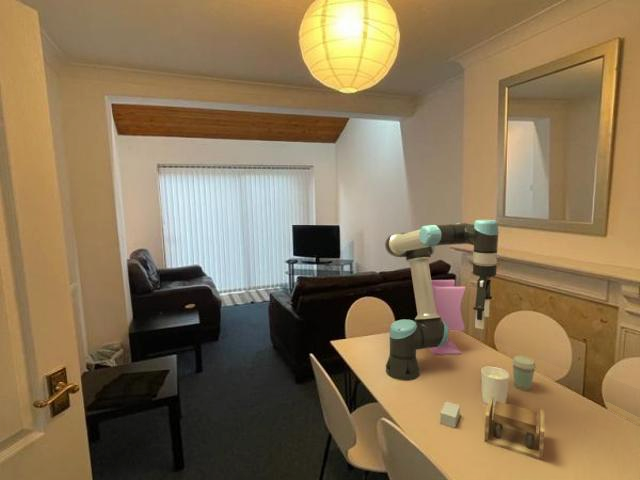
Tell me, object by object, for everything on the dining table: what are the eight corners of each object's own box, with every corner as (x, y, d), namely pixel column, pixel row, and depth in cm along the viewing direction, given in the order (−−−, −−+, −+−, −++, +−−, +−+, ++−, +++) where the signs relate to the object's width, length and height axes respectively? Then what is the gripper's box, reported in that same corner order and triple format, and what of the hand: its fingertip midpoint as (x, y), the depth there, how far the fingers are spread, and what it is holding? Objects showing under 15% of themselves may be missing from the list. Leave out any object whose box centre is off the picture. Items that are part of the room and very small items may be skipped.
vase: (463, 355, 174) (466, 287, 169) (432, 355, 174) (434, 287, 169) (452, 342, 189) (454, 279, 185) (423, 342, 189) (424, 280, 185)
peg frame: (484, 441, 113) (485, 414, 112) (489, 421, 123) (490, 396, 122) (542, 460, 105) (544, 431, 103) (542, 437, 115) (544, 410, 113)
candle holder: (496, 412, 128) (498, 381, 127) (474, 398, 137) (475, 369, 135) (513, 404, 133) (515, 374, 131) (490, 391, 141) (491, 364, 140)
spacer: (455, 428, 120) (455, 417, 119) (440, 423, 123) (440, 412, 122) (459, 415, 127) (460, 405, 126) (445, 411, 129) (445, 401, 129)
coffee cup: (537, 393, 139) (539, 365, 138) (514, 391, 141) (516, 364, 139) (529, 382, 148) (531, 356, 146) (507, 380, 149) (509, 354, 148)
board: (536, 420, 113) (537, 412, 113) (536, 434, 106) (536, 425, 106) (495, 409, 120) (495, 400, 119) (492, 421, 113) (493, 413, 112)
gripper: (492, 271, 109) (489, 336, 112) (500, 258, 130) (497, 313, 133) (466, 269, 113) (464, 331, 116) (478, 257, 134) (476, 310, 137)
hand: (482, 322), depth 124 cm, fingers open, 13 cm apart
